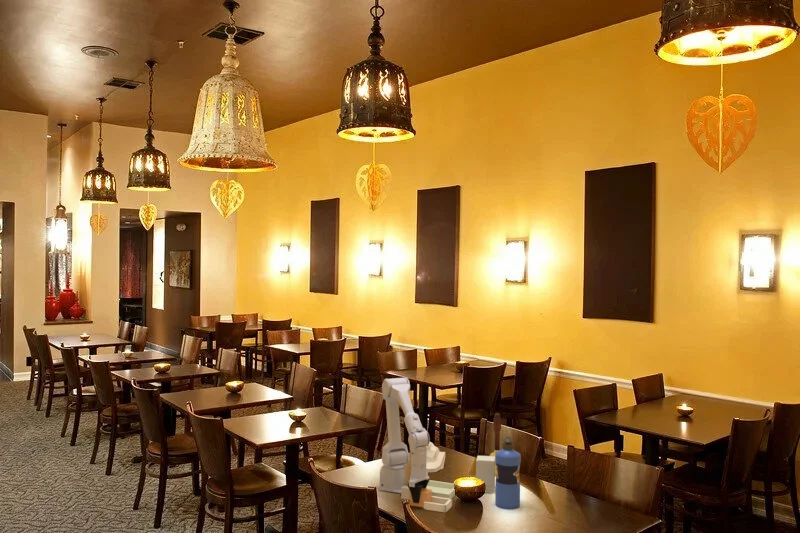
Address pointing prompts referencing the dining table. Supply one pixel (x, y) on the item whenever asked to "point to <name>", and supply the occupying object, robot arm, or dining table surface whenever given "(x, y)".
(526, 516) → the dining table surface
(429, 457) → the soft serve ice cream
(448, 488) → the tray
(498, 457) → the water bottle
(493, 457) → the supplement box
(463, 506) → the dining table surface
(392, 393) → the robot arm
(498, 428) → the handbell
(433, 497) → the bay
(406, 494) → the orange and grey block
